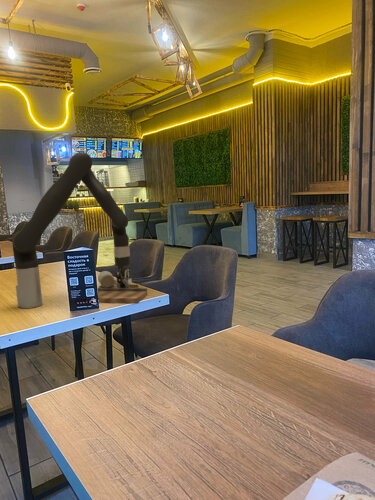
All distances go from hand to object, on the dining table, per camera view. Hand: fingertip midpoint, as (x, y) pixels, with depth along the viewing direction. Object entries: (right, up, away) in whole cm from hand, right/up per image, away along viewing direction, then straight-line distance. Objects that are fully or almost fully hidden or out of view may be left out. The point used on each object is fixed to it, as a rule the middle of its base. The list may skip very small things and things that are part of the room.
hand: (124, 289), depth 188 cm
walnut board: (-1, -3, -14) cm, 14 cm away
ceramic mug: (-10, 0, +12) cm, 16 cm away
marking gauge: (+2, 0, 0) cm, 2 cm away
